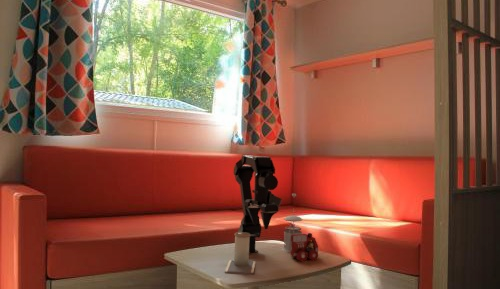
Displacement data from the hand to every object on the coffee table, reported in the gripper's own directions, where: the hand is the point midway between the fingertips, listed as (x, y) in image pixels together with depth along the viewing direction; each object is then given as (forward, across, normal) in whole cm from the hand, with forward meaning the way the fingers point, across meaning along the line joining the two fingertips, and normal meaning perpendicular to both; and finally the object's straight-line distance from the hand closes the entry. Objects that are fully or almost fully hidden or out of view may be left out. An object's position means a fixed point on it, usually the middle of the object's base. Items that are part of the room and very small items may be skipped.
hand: (260, 227), depth 171 cm
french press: (+13, +9, -21) cm, 26 cm away
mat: (+13, -8, +12) cm, 19 cm away
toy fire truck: (+13, -5, -18) cm, 23 cm away
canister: (+12, -6, +11) cm, 17 cm away
